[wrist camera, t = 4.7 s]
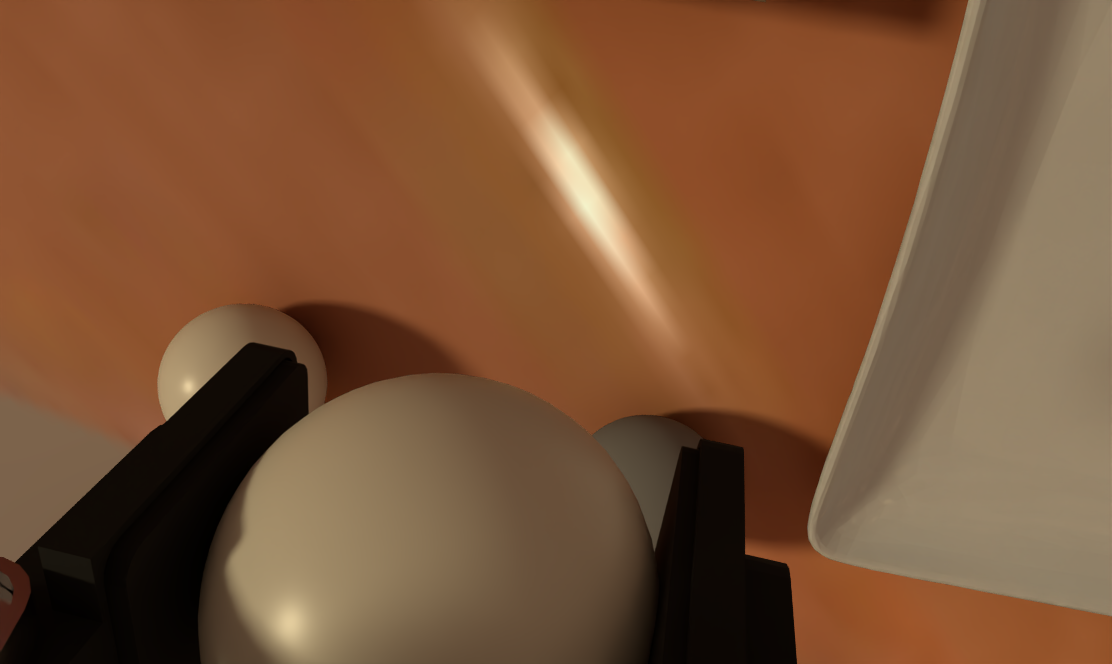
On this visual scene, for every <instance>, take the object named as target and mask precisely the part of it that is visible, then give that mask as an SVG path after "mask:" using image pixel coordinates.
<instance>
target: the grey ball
mask: <svg viewBox="0 0 1112 664" xmlns="http://www.w3.org/2000/svg"><path fill="white" fill-rule="evenodd" d="M592 436H593V437H594V438H595V439H596V441H597V442H598V443H599V444H600V445H601V446H602V447H603V448H604V449H605V450H606V451H607V453H608V454H609V456H610V457H611V458H612V460H613V461H614V463H615V464H616V465H617V467H618V468H619V470H620V471H621V472H622V474H623V475H624V477H625V478H626V480H627V481H628V483H629V485H630V487H631V489H632V491H633V493H634V495H635V496H636V498H637V500H638V503H639V505H640V508H641V510H642V513H643V516H644V518H645V521H646V524H647V527H648V530H649V533H650V535H651V538H652V542H653V548H654V552H655V548H656V544H657V540H658V536H659V532H660V528H661V524H662V520H663V517H664V513H665V509H666V505H667V501H668V497H669V493H670V489H671V485H672V481H673V477H674V473H675V469H676V465H677V461H678V457H679V453H680V450H681V447H682V446H685V447H689V448H694V449H697V446H698V443H699V440H700V439H703V438H702V437H701V436H700V435H699V434H697V433H696V432H695V431H694V430H692V429H691V428H689V427H688V426H686V425H684V424H682V423H680V422H677V421H675V420H672V419H669V418H665V417H661V416H654V415H636V416H630V417H625V418H622V419H619V420H616V421H614V422H612V423H610V424H607V425H606V426H604V427H602V428H601V429H599V430H598V431H597V432H595V433H594V434H593V435H592Z"/></svg>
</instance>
